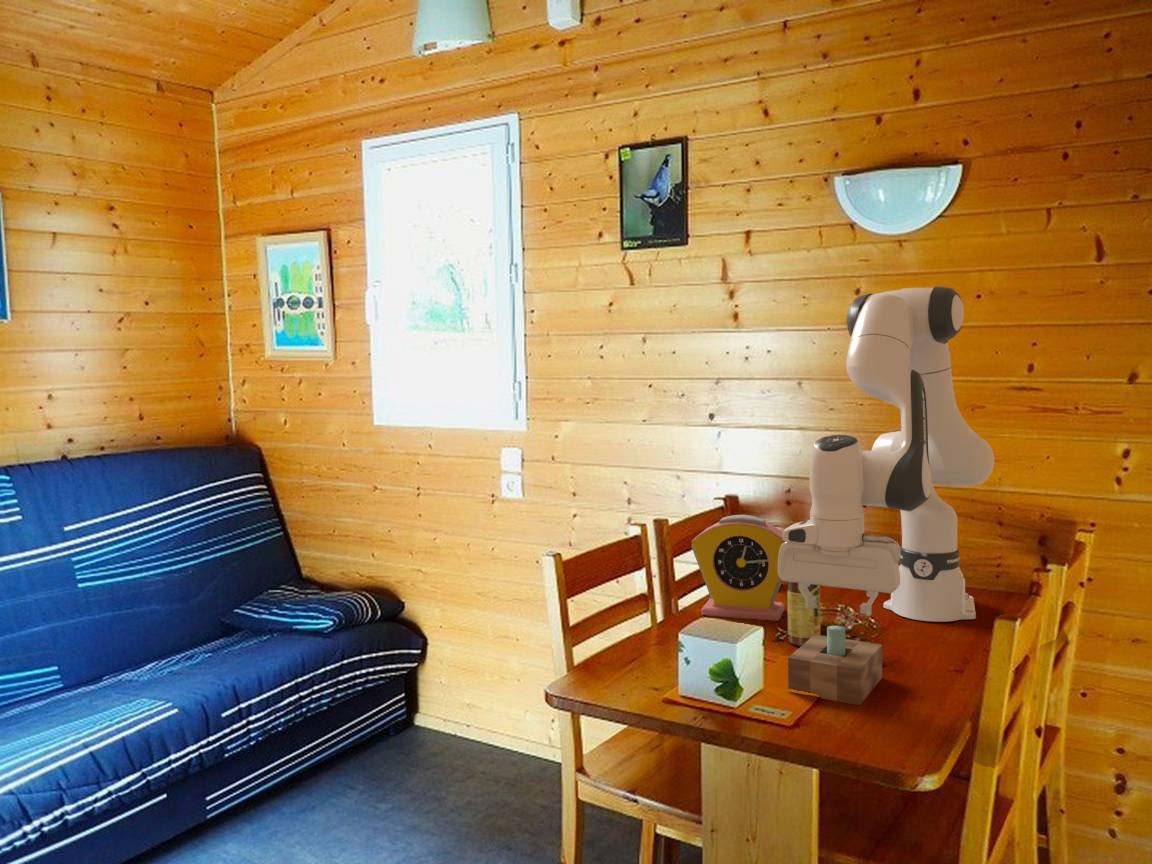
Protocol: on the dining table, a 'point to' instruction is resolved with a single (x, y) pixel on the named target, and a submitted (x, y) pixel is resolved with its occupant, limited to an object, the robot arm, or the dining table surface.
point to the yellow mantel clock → (740, 568)
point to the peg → (836, 640)
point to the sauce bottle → (802, 614)
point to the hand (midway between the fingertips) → (837, 611)
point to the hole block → (836, 670)
